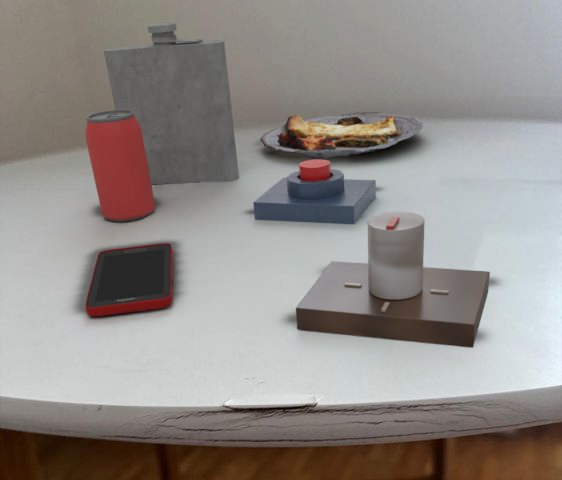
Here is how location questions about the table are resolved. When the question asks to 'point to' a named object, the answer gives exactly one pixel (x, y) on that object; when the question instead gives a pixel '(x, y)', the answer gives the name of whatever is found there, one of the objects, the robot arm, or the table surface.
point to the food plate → (341, 134)
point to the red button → (314, 170)
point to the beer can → (119, 165)
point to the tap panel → (396, 306)
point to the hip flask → (178, 105)
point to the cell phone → (131, 280)
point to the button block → (316, 200)
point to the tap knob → (395, 255)
